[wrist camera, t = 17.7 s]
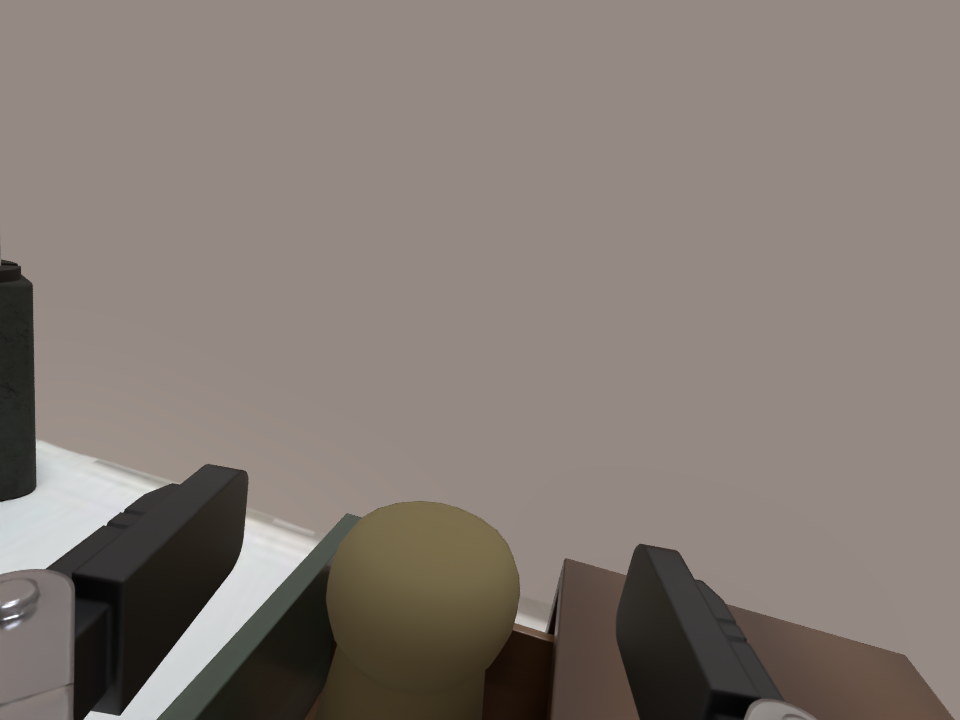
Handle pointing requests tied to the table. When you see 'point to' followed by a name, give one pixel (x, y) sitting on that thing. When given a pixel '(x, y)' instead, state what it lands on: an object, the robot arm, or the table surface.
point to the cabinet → (778, 644)
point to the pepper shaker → (417, 614)
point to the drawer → (310, 650)
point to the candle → (16, 384)
